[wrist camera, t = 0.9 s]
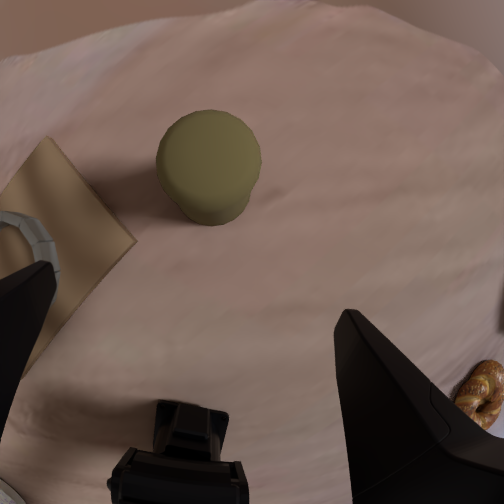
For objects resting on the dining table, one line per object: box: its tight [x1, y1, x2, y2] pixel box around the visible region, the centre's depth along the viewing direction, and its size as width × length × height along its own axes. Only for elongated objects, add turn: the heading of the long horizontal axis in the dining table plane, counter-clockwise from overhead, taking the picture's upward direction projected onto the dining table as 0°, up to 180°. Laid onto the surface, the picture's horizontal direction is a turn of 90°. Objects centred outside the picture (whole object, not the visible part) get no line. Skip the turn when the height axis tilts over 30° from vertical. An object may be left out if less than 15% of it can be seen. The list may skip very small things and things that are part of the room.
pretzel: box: [454, 360, 504, 430], centre depth 27 cm, size 12×11×4 cm
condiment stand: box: [0, 136, 138, 380], centre depth 21 cm, size 20×13×4 cm, turn 134°
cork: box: [156, 109, 262, 226], centre depth 18 cm, size 6×6×11 cm
